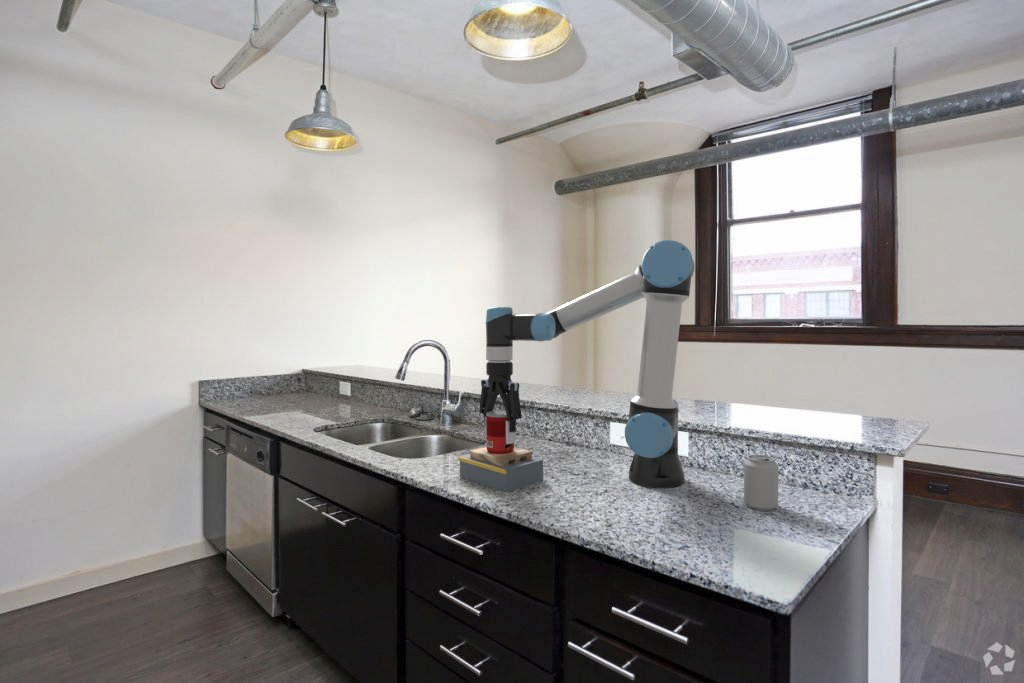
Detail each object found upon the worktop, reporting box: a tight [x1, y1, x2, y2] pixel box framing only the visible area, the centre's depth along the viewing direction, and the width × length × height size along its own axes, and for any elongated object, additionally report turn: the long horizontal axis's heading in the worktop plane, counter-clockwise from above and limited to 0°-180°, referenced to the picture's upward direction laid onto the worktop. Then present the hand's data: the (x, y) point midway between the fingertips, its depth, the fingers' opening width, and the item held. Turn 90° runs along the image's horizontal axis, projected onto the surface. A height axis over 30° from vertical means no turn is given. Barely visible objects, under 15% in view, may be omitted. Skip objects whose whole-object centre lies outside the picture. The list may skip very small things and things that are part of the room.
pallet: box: [468, 446, 534, 466], centre depth 152 cm, size 14×12×2 cm
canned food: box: [485, 410, 515, 454], centre depth 152 cm, size 8×8×11 cm
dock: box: [457, 453, 544, 493], centre depth 152 cm, size 20×15×6 cm
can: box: [743, 454, 779, 512], centre depth 128 cm, size 8×8×12 cm
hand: (499, 440), depth 152 cm, fingers closed on canned food, 8 cm apart
